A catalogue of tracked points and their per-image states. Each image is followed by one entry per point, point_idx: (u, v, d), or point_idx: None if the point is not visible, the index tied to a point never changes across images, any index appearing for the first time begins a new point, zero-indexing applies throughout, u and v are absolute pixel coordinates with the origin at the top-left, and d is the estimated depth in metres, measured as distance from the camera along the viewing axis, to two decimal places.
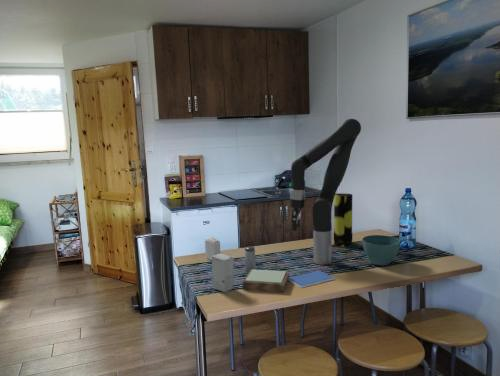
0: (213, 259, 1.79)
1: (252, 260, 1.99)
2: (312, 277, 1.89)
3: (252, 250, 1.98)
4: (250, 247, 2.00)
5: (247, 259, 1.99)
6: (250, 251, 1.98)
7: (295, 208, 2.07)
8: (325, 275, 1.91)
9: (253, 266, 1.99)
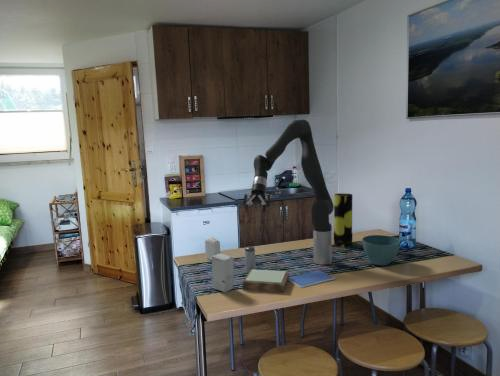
0: (213, 259, 1.79)
1: (252, 260, 1.99)
2: (312, 277, 1.89)
3: (252, 250, 1.98)
4: (250, 247, 2.00)
5: (247, 259, 1.99)
6: (250, 251, 1.98)
7: None
8: (325, 275, 1.92)
9: (253, 266, 1.99)
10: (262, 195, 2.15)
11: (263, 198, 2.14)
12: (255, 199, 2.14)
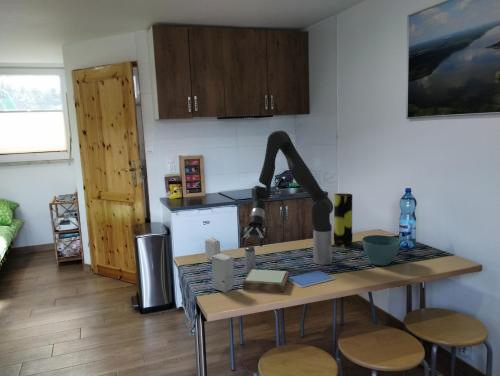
0: (213, 259, 1.79)
1: (252, 260, 1.99)
2: (312, 277, 1.89)
3: (252, 250, 1.98)
4: (250, 247, 2.00)
5: (247, 259, 1.99)
6: (250, 251, 1.98)
7: None
8: (325, 275, 1.92)
9: (253, 266, 1.99)
10: (260, 228, 2.10)
11: (261, 231, 2.10)
12: (252, 232, 2.10)
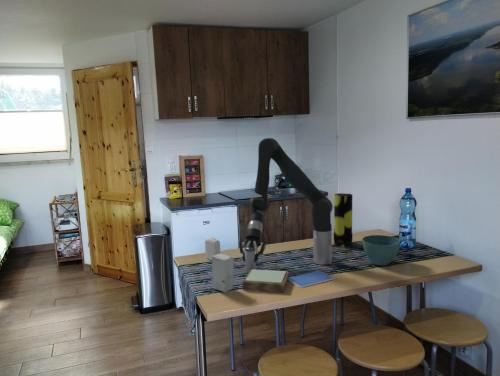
0: (213, 259, 1.79)
1: (252, 260, 1.99)
2: (312, 277, 1.89)
3: (252, 250, 1.98)
4: (250, 247, 2.00)
5: (247, 259, 1.99)
6: (250, 251, 1.98)
7: None
8: (325, 275, 1.92)
9: (253, 266, 1.99)
10: (257, 241, 2.05)
11: (258, 244, 2.04)
12: (250, 245, 2.04)
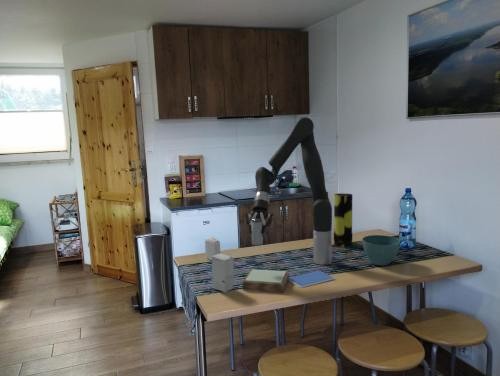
0: (213, 259, 1.79)
1: (259, 232, 1.88)
2: (312, 277, 1.89)
3: (259, 221, 1.87)
4: (257, 218, 1.89)
5: (254, 231, 1.88)
6: (257, 222, 1.87)
7: None
8: (325, 275, 1.92)
9: (260, 238, 1.89)
10: (264, 212, 1.94)
11: None
12: (257, 217, 1.93)
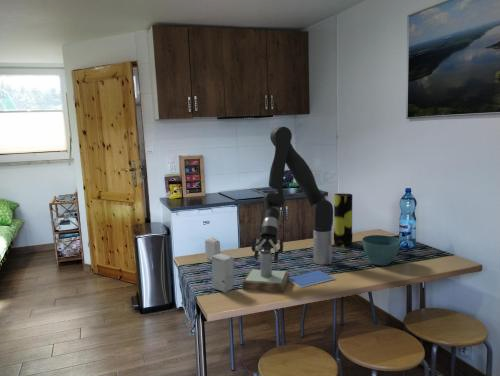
0: (213, 259, 1.79)
1: (268, 263, 1.81)
2: (312, 277, 1.89)
3: (268, 252, 1.81)
4: (266, 249, 1.83)
5: (263, 262, 1.81)
6: (266, 253, 1.80)
7: None
8: (325, 275, 1.91)
9: (269, 270, 1.82)
10: (273, 239, 1.87)
11: (275, 243, 1.86)
12: (265, 244, 1.86)
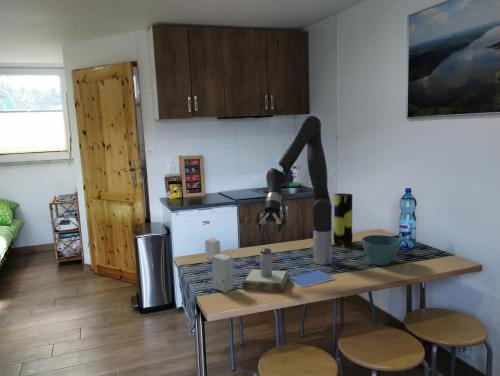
0: (213, 259, 1.79)
1: (269, 263, 1.81)
2: (312, 277, 1.89)
3: (268, 252, 1.81)
4: (266, 249, 1.83)
5: (263, 262, 1.81)
6: (266, 253, 1.80)
7: None
8: (325, 275, 1.91)
9: (269, 270, 1.82)
10: (277, 213, 1.95)
11: (278, 216, 1.94)
12: (269, 218, 1.94)
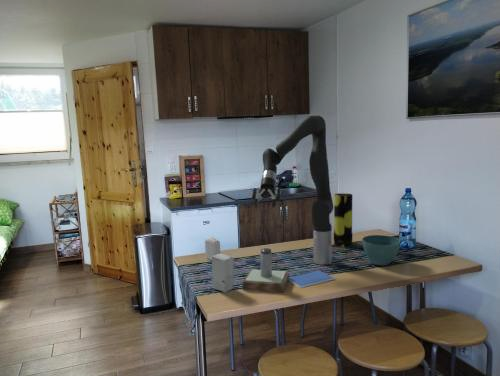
0: (213, 259, 1.79)
1: (269, 263, 1.81)
2: (312, 277, 1.89)
3: (269, 252, 1.81)
4: (266, 249, 1.83)
5: (263, 262, 1.81)
6: (266, 254, 1.80)
7: None
8: (325, 275, 1.91)
9: (269, 270, 1.82)
10: (272, 189, 2.09)
11: (273, 192, 2.08)
12: (265, 193, 2.08)
